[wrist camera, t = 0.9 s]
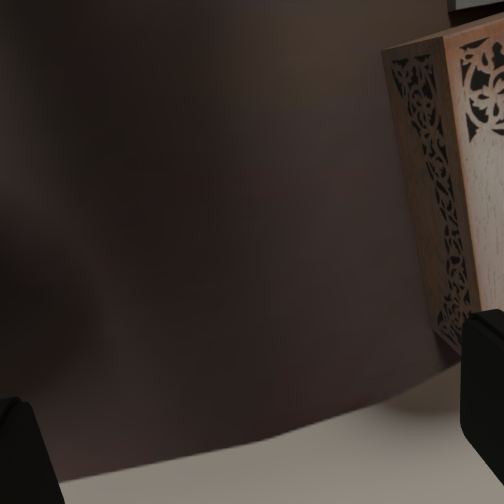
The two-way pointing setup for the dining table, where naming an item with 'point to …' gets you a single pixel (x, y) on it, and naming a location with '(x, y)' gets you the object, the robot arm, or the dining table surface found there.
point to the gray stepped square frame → (469, 4)
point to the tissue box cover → (454, 164)
